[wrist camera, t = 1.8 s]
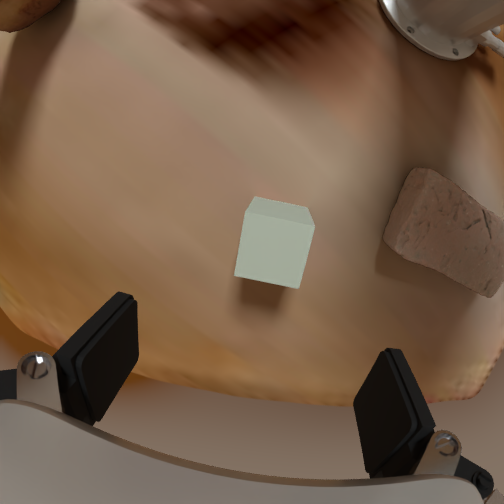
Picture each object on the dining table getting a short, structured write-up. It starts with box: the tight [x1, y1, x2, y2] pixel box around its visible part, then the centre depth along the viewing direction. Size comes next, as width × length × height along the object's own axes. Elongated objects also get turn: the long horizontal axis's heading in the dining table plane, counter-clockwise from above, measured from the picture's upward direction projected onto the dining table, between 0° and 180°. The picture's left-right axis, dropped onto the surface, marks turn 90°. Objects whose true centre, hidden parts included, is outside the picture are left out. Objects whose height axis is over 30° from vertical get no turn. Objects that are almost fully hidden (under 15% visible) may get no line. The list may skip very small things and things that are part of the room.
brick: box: [383, 167, 504, 298], centre depth 24 cm, size 17×8×5 cm, turn 71°
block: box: [234, 197, 315, 289], centre depth 24 cm, size 5×5×7 cm
